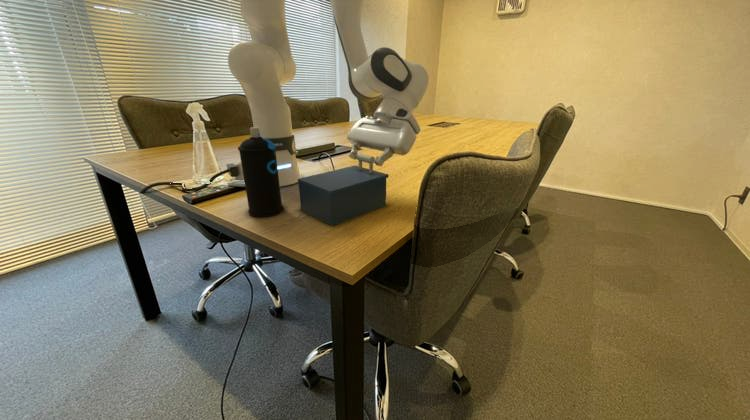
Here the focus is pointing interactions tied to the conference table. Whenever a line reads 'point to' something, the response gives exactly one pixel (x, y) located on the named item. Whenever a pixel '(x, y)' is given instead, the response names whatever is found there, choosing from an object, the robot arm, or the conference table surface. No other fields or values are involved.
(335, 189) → the lid
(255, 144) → the aerosol can
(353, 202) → the box
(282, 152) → the robot arm
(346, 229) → the conference table surface
